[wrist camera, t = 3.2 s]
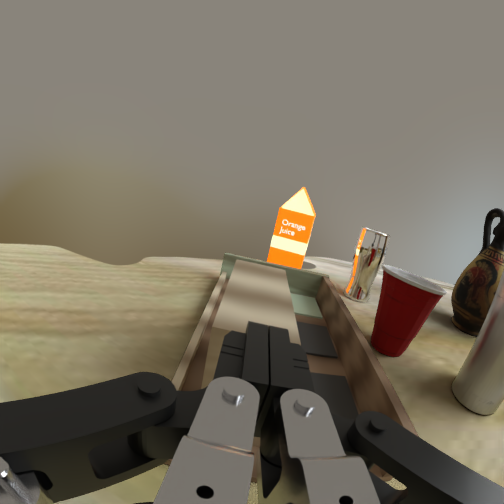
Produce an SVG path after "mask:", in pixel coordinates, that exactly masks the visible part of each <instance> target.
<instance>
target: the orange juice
mask: <svg viewBox="0 0 504 504" xmlns="http://www.w3.org/2000/svg"><path fill="white" fill-rule="evenodd" d="M315 216H316V214H315V212H314V209H313V206H312V204H311V201H310V199H309V196H308V194H307V191H306V188H305V187H303V188H302V189H301V190H300V191H298V192H297V193H296V194H295V195H294V196H293V197H292V198H291V199H290V200H288V201H287V202H286V203H285V204H284V205H283V206H282V207H280V208H279V213H278V217H277V221H276V226H275V230H274V234H273V237H272V242H271V247H270V251H269V255H268V259H267V262H270V263H275V264H279V265H284V266H289V267H293V268H298V269H301V267H302V264H303V260H304V256H305V252H306V249H307V246H308V241H309V237H310V234H311V230H312V226H313V222H314V218H315Z"/></svg>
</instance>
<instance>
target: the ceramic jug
mask: <svg viewBox="0 0 504 504" xmlns="http://www.w3.org/2000/svg"><path fill="white" fill-rule="evenodd" d="M495 217H500V223H499V224H498V225H497V226H496V227H495V228H494V230H493V234H494V235H495V237H494V239H493V241H492V243H491V244H490V235H491V224H492V221H493V219H494V218H495ZM503 271H504V211H503V210H501V209H498V208H495V209H493V210H491V211H489V213H488V214H487V216H486V220H485V224H484V236H483V247H482V250H481V251H480V253H479V254H478V256H477V257H476V258H475V259H474V260H473V261H472V262H471V263H470V264H469V265H468V266H467V267H466V269H465V270H464V271H463V273H462V274H461V275H460V277H459V278H458V280H457V282H456V284H455V286H454V289H453V292H452V299H451V301H452V307H453V312H454V316H453V317H452V322H453V323H454V324H455V325H456V326H457V327H458V328H459V329H460V330H461V331H464V332H466V333H469V334H470V335H473V336H478V334H479V332H480V330H481V328H482V326H483V323H484V321H485V319H486V316H487V314H488V312H489V309H490V307H491V304H492V302H493V299H494V296H495V294H496V291H497V288H498V285H499V282H500V279H501V276H502V273H503Z"/></svg>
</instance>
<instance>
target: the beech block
mask: <svg viewBox="0 0 504 504" xmlns="http://www.w3.org/2000/svg"><path fill="white" fill-rule="evenodd" d="M248 321H252V322H256V323H261V324H265V325H268V326H269V325H270V326H275V327H280V328H285V329H288V331H289V337H290V342H291V343H296V344H299V345H300V346H301V342H300V337H299V333H298V328H297V323H296V318H295V313H294V308H293V304H292V299H291V294H290V289H289V285H288V280H287V276H286V271H285V270H283V269H279V268H274V267H269V266H265V265H260V264H256V263H251V262H247V261H242V260H238V259H237V260H236V263H235V265H234V268H233V271H232V273H231V276H230V279H229V282H228V284H227V287H226V290H225V292H224V295H223V298H222V301H221V303H220V306H219V309H218V312H217V314H216V317H215V320H214V323H213V325H212V330H211V335H210V341H209V347H208V352H207V358H206V364H205V370H204V375H203V381H202V387H201V389H203V388H205V387H207V386H208V385H209V383H210V382H211V381H212V380H213V378H214V374H215V370H216V366H217V362H218V358H219V355H220V351H221V347H222V343H223V340H224V336H225V335H226V334H228V333H229V332H230V331H232V330H233V331H237V332H242V333H245V331H246V328H247V324H248ZM252 446H256V447H259V446H260V437H254V438H253V444H252Z"/></svg>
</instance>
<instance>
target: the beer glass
mask: <svg viewBox="0 0 504 504" xmlns="http://www.w3.org/2000/svg"><path fill="white" fill-rule="evenodd" d="M389 238H390V235H388V234H385V233H383V232H380V231H377V230H373V229H370V228H366V227H362V228H361V231H360V234H359V237H358V239H357V243H356V246H355V250H354V255H353V262H352V270H351V275H350V279H349V282H348V284H347V286H346V287H345V289H344V291H343V293H344V295H345V296H346V297H348V298H350V299H352V300H355V301H358V302H368V300H369V296H370V290H371V287H372V284H373V281H374V279H375V277H376V276H377V274H378V272H379V270H380V268H381V266H382V264H383V261H384V258H385V255H386V252H387V248H388V243H389Z"/></svg>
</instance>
